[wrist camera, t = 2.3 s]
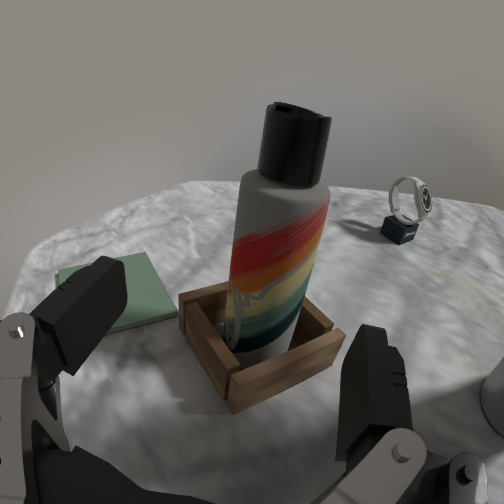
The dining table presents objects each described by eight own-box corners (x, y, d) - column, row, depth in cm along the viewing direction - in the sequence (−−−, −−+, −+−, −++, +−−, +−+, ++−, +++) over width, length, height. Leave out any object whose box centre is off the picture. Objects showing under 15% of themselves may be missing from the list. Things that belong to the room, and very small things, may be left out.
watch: (408, 251, 47) (430, 189, 41) (372, 228, 53) (389, 170, 47) (421, 244, 50) (442, 188, 44) (388, 224, 56) (405, 170, 50)
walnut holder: (268, 300, 33) (275, 268, 31) (331, 365, 26) (346, 335, 24) (179, 327, 28) (178, 293, 26) (233, 414, 21) (238, 385, 19)
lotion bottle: (208, 344, 27) (230, 94, 16) (253, 317, 30) (291, 99, 20) (254, 385, 23) (314, 112, 13) (298, 351, 27) (364, 118, 17)
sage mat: (145, 256, 37) (145, 251, 36) (178, 315, 29) (178, 310, 29) (59, 274, 31) (58, 269, 31) (68, 343, 23) (66, 338, 23)
